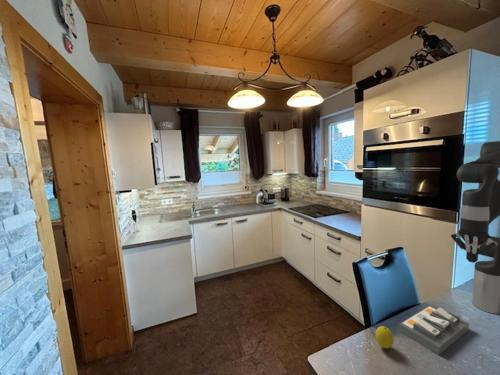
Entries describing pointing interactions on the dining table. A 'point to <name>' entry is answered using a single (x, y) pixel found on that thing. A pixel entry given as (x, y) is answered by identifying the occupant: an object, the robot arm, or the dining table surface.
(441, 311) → the switch
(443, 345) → the switch unit
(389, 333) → the lemon
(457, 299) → the dining table surface
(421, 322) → the switch
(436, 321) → the switch mid
